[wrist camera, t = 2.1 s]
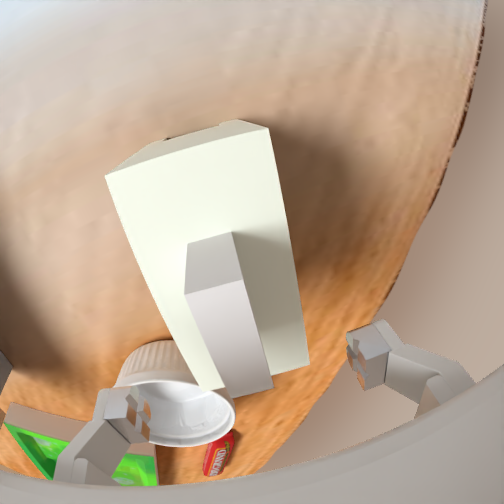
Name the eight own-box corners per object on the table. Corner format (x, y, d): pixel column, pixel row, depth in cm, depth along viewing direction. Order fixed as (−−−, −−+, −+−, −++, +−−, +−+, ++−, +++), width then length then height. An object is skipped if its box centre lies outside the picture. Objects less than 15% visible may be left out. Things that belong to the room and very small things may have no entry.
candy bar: (220, 466, 47) (222, 479, 44) (200, 466, 46) (202, 479, 44) (235, 426, 41) (238, 443, 38) (211, 426, 40) (212, 442, 37)
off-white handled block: (149, 143, 22) (68, 205, 8) (236, 118, 22) (297, 137, 8) (198, 289, 29) (206, 444, 14) (270, 270, 29) (330, 413, 15)
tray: (154, 429, 39) (153, 456, 35) (159, 482, 49) (159, 501, 45) (11, 399, 33) (3, 422, 29) (51, 462, 44) (48, 480, 39)
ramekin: (102, 377, 32) (92, 422, 26) (147, 309, 29) (138, 359, 23) (192, 413, 37) (194, 456, 31) (252, 359, 34) (263, 407, 28)
